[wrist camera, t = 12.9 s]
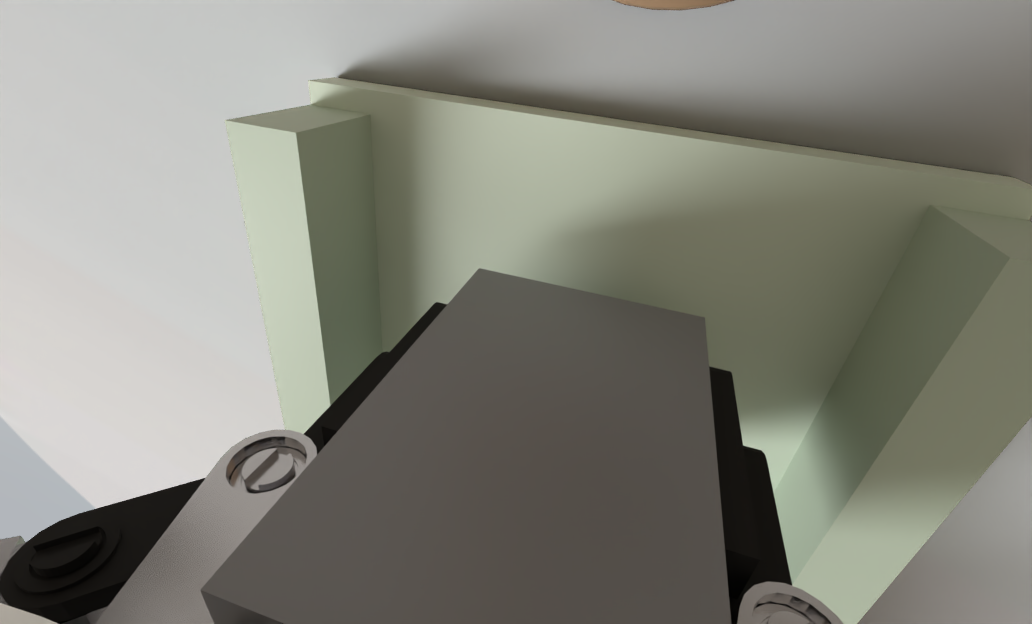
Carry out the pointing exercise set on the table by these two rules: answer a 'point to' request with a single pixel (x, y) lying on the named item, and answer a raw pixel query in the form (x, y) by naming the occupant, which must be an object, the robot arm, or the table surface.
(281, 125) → the board with raised rails
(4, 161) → the table surface
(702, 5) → the tan door knob
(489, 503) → the gray rectangular block
